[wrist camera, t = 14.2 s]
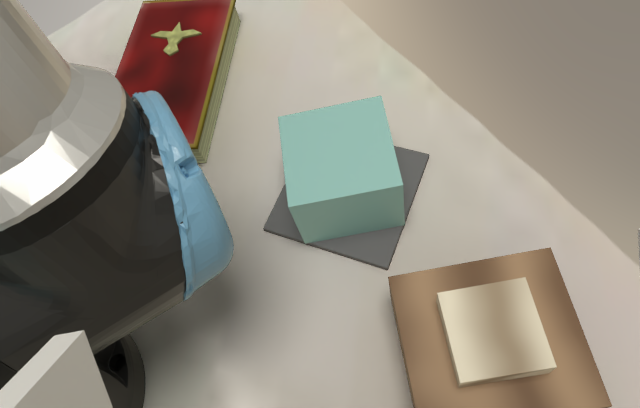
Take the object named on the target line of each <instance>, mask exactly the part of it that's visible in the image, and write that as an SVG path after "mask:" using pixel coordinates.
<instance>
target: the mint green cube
mask: <svg viewBox="0 0 640 408" xmlns="http://www.w3.org/2000/svg"><path fill="white" fill-rule="evenodd" d="M278 121H279V130H280V139H281V148H282V156H283V165H284V174H285V183H286V192H287V201H288V208H289V210H290V212H291V214H292V217H293V219H294V221H295V223H296V225H297V228H298V230H299V232H300V234H301V236H302V238H303V241H304V243H305V244H307V243H312V242H318V241H323V240H328V239H334V238H339V237H344V236H349V235H355V234H360V233H365V232H371V231H376V230H381V229H387V228H392V227H397V226H403V225H405V217H404V191H403V182H402V178H401V174H400V170H399V166H398V162H397V158H396V153H395V149H394V145H393V141H392V137H391V133H390V129H389V125H388V121H387V117H386V113H385V109H384V105H383V101H382V97H381V96H377V97H372V98H367V99H362V100H358V101H353V102H348V103H343V104H339V105H334V106H329V107H324V108H319V109H315V110H310V111H305V112H300V113H295V114H291V115H286V116H281V117H278Z"/></svg>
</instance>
